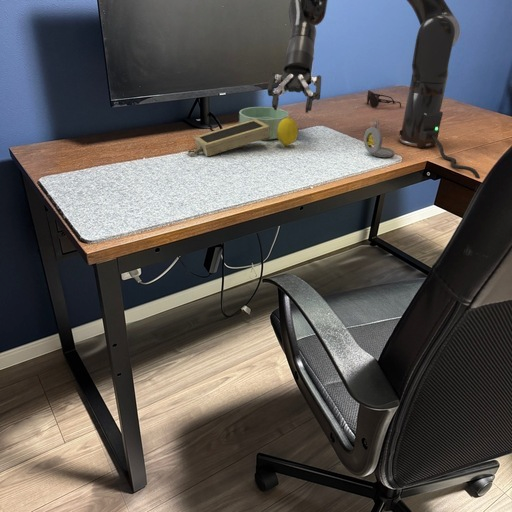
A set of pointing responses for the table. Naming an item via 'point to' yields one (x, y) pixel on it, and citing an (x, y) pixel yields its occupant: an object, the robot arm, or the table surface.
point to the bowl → (264, 117)
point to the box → (231, 137)
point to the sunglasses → (377, 99)
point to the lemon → (287, 131)
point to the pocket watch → (376, 142)
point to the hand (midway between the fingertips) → (291, 109)
